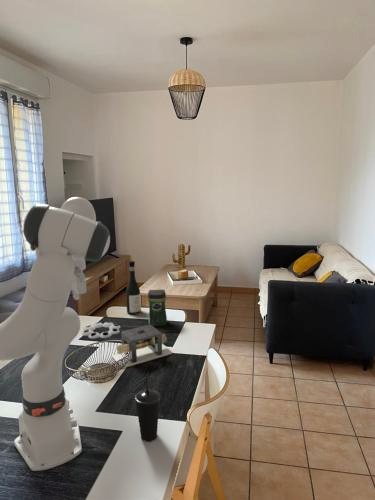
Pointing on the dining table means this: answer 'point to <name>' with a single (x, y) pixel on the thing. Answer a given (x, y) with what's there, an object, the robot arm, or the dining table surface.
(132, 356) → the iron frame
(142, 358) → the grey base plate
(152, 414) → the drinking cup
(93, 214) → the robot arm
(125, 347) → the brass air tube
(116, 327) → the grey looped trivet
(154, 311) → the coffee jar
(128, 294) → the wine bottle
